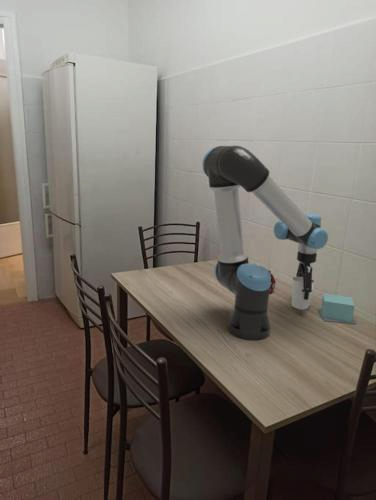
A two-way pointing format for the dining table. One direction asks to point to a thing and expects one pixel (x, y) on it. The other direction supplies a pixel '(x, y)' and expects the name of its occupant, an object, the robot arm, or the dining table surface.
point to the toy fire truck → (272, 283)
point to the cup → (299, 292)
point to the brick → (337, 307)
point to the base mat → (335, 320)
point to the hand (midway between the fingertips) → (301, 299)
